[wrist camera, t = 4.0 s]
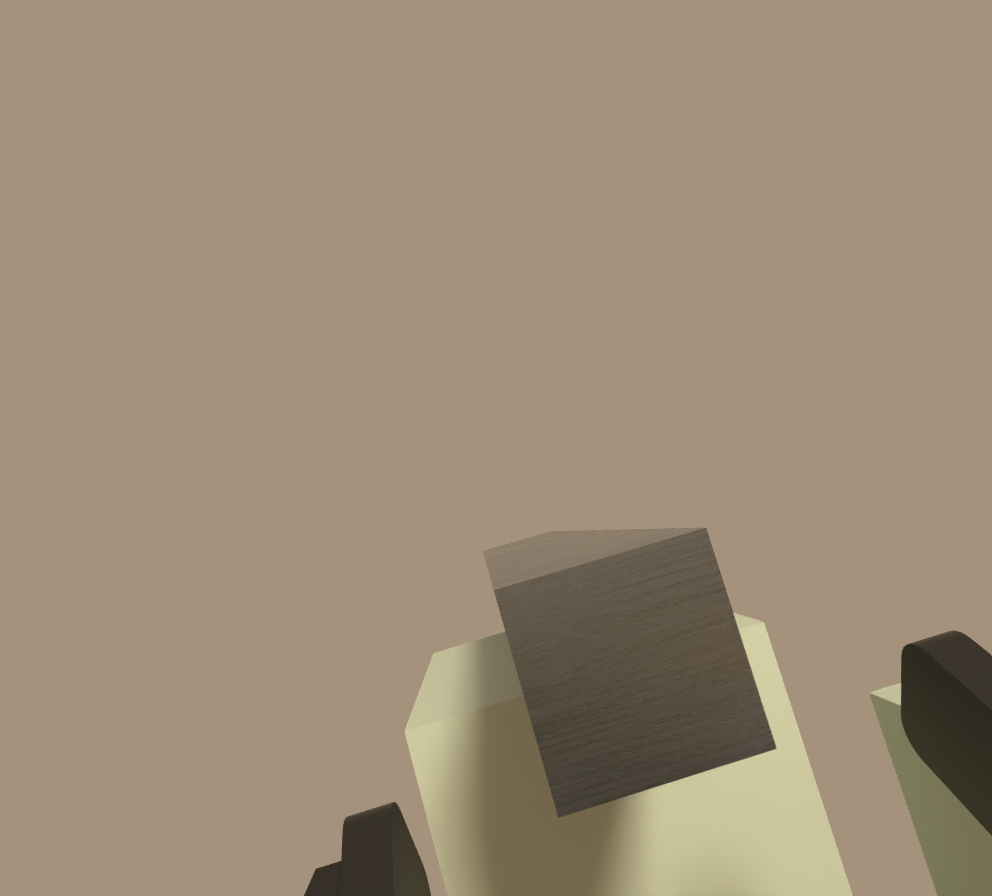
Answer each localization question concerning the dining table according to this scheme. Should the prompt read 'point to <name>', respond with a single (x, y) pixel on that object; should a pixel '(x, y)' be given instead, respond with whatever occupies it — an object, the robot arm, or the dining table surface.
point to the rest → (936, 812)
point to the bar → (626, 659)
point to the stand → (619, 823)
